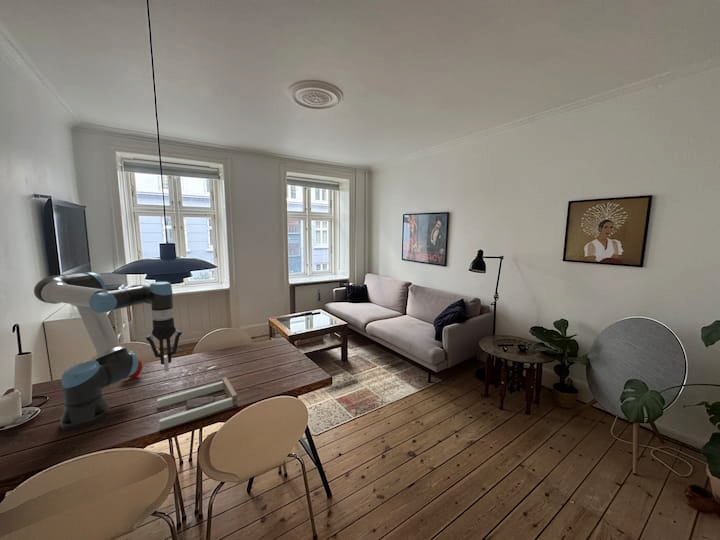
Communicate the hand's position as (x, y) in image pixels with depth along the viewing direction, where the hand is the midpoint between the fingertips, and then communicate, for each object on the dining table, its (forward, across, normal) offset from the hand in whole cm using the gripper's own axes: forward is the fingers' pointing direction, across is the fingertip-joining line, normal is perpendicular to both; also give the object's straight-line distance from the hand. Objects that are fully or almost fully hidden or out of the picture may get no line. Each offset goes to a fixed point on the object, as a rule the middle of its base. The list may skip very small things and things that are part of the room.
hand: (166, 370), depth 126 cm
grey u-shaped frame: (+20, +11, 0) cm, 23 cm away
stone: (+21, +12, -4) cm, 24 cm away
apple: (+21, -13, +47) cm, 53 cm away
